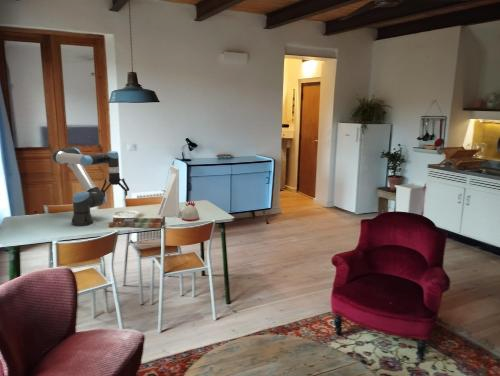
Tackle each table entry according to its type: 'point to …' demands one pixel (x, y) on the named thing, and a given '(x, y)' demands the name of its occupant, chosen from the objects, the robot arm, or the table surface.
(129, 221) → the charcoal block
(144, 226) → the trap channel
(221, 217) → the table surface
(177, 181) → the white bracket plate
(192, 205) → the beige rounded dome
